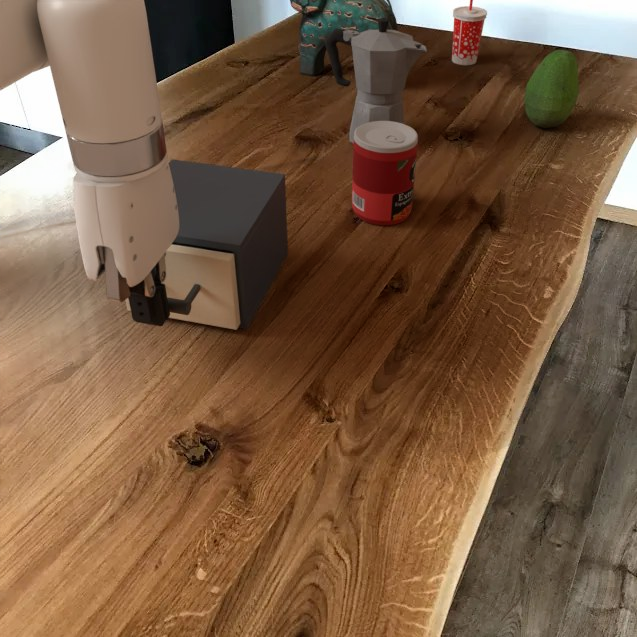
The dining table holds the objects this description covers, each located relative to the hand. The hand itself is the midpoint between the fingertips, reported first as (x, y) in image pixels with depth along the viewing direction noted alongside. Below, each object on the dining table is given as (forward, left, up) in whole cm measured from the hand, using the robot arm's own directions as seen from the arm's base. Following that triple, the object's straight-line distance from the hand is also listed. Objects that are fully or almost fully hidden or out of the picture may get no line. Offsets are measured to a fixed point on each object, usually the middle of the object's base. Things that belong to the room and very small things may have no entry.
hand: (151, 318), depth 71 cm
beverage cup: (+74, +57, -6) cm, 94 cm away
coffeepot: (+43, +36, -6) cm, 57 cm away
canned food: (+34, +16, -6) cm, 38 cm away
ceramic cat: (+50, +59, -6) cm, 78 cm away
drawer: (+7, +8, -5) cm, 11 cm away
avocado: (+70, +28, -6) cm, 76 cm away
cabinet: (+9, +11, -6) cm, 15 cm away
